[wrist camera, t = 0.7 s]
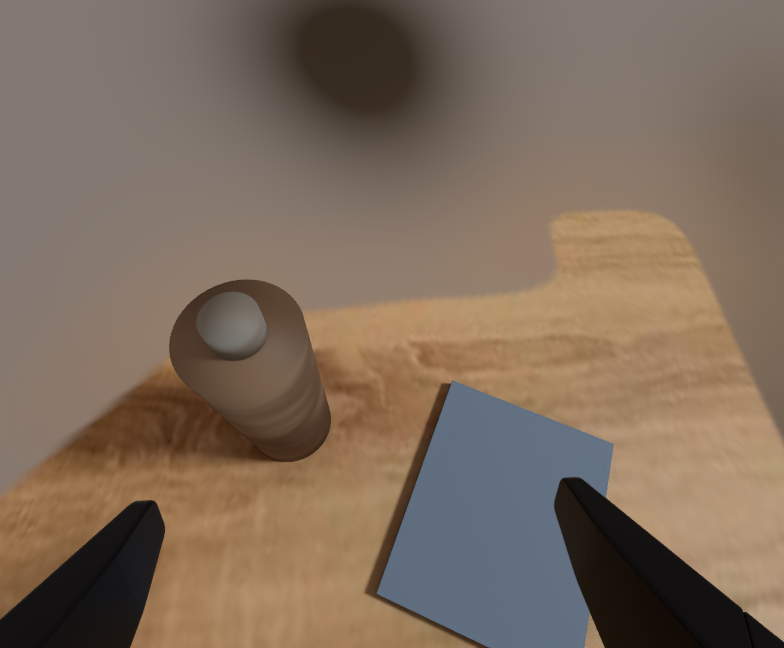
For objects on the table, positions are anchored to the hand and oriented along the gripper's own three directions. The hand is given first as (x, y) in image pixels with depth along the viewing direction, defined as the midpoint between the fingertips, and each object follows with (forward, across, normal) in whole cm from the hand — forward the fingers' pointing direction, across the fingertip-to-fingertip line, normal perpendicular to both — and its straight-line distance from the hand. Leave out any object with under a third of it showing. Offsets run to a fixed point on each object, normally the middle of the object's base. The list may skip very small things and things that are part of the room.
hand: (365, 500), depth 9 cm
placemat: (+8, -8, +12) cm, 16 cm away
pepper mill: (+13, +4, +9) cm, 16 cm away
